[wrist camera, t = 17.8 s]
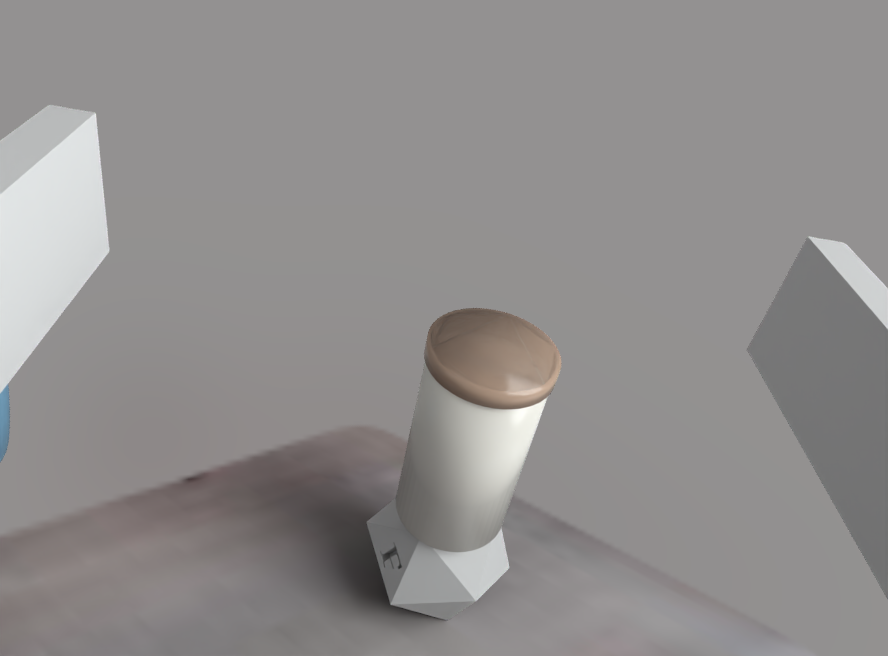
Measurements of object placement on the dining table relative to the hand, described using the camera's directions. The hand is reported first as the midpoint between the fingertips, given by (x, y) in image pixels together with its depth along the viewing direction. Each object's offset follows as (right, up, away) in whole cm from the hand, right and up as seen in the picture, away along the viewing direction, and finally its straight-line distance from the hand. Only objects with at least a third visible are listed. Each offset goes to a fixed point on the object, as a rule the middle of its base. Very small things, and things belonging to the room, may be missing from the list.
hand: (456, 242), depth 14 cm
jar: (0, -12, +29) cm, 32 cm away
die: (-1, -18, +34) cm, 38 cm away
